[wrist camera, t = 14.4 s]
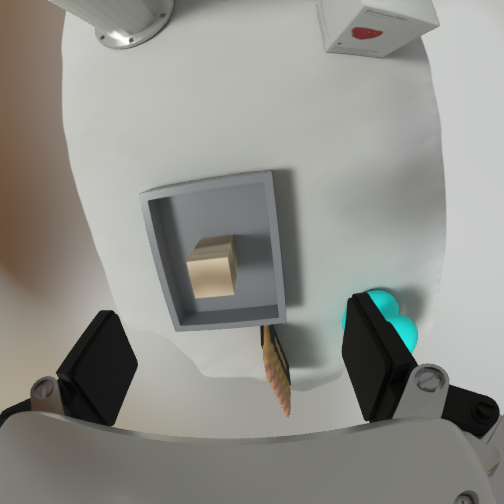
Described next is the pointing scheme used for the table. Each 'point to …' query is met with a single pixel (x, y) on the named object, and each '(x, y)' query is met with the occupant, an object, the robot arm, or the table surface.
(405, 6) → the supplement box
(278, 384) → the ammunition clip
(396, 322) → the donuts
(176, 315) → the tray
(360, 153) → the table surface
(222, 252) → the birch block
